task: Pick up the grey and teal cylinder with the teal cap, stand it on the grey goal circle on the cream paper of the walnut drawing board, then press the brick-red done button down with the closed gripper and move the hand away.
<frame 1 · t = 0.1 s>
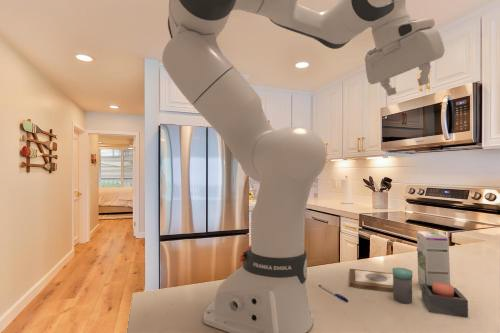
hand: (407, 90, 72), 52 cm above the countertop, tool tilted 20°, fingers open, 8 cm apart
grey and teal cylinder: (402, 300, 66), on the countertop
button housing: (443, 307, 63), on the countertop
syrup box: (433, 289, 73), on the countertop
ballpoint pen: (332, 295, 70), on the countertop
done button: (442, 290, 63), point 4 cm above the countertop, slide at 0.0 cm
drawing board: (376, 281, 78), on the countertop
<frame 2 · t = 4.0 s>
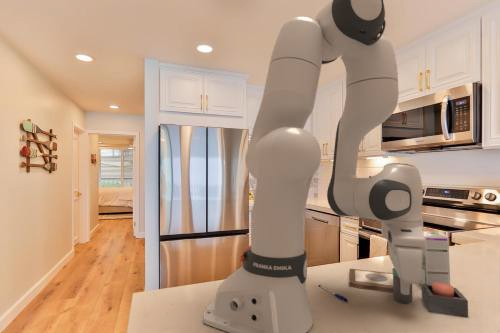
hand: (402, 288, 67), 3 cm above the countertop, tool pointing down, fingers closed on grey and teal cylinder, 4 cm apart
grey and teal cylinder: (402, 299, 66), on the countertop, touching gripper
everything else where it was.
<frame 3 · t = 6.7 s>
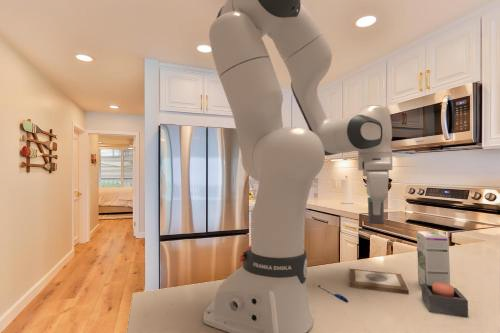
hand: (375, 213, 78), 19 cm above the countertop, tool pointing down, fingers closed on grey and teal cylinder, 4 cm apart
grey and teal cylinder: (376, 222, 78), point 16 cm above the countertop, touching gripper
everything else where it was.
when the fingers open (5 cm above the countertop, at t = 9.7 s): grey and teal cylinder stays where it is, resting on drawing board.
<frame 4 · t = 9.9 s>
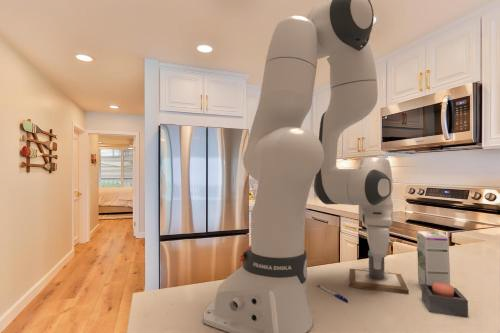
hand: (375, 264, 78), 5 cm above the countertop, tool pointing down, fingers open, 6 cm apart
grey and teal cylinder: (376, 277, 78), point 1 cm above the countertop, touching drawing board
everything else where it was.
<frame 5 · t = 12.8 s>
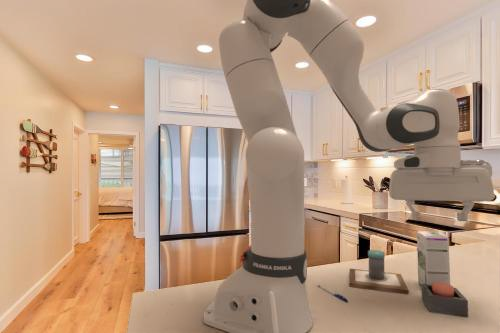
hand: (438, 220, 64), 19 cm above the countertop, tool pointing down, fingers open, 8 cm apart
nothing on the countertop moved.
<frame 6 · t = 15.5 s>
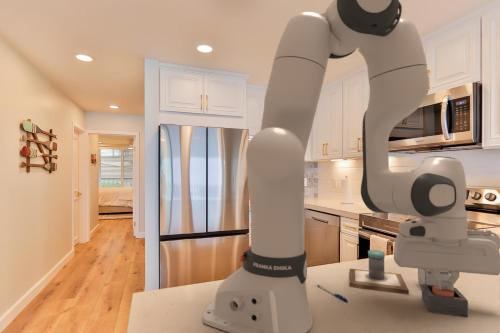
hand: (444, 289, 63), 4 cm above the countertop, tool pointing down, fingers closed, pressing on done button
done button: (443, 294, 63), point 3 cm above the countertop, slide at 0.8 cm, touching gripper
everything else where it was.
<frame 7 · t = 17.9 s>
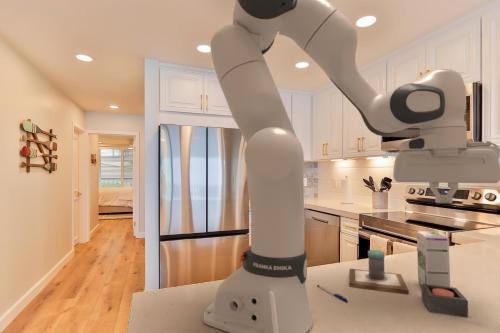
hand: (443, 203, 63), 24 cm above the countertop, tool pointing down, fingers closed
done button: (443, 296, 63), point 2 cm above the countertop, slide at 1.4 cm
everything else where it was.
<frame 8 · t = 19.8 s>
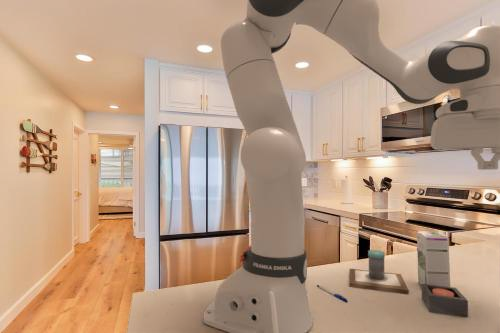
hand: (487, 169, 59), 31 cm above the countertop, tool pointing down, fingers closed
nothing on the countertop moved.
at the end: grey and teal cylinder 0.1 cm off-centre on the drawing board, point 1.3 cm above the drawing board's base; grey and teal cylinder tilted 0°; done button slide at 1.4 cm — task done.
